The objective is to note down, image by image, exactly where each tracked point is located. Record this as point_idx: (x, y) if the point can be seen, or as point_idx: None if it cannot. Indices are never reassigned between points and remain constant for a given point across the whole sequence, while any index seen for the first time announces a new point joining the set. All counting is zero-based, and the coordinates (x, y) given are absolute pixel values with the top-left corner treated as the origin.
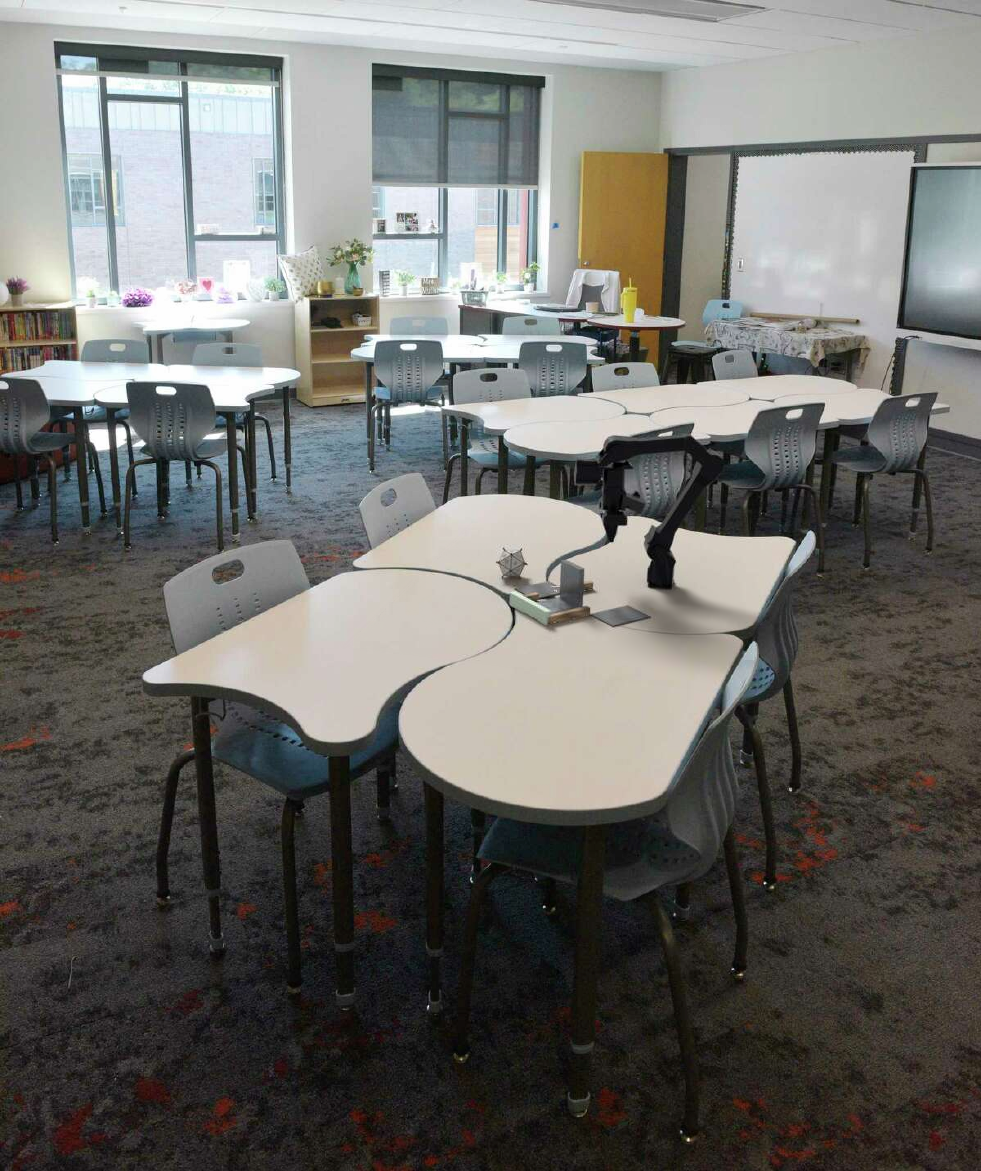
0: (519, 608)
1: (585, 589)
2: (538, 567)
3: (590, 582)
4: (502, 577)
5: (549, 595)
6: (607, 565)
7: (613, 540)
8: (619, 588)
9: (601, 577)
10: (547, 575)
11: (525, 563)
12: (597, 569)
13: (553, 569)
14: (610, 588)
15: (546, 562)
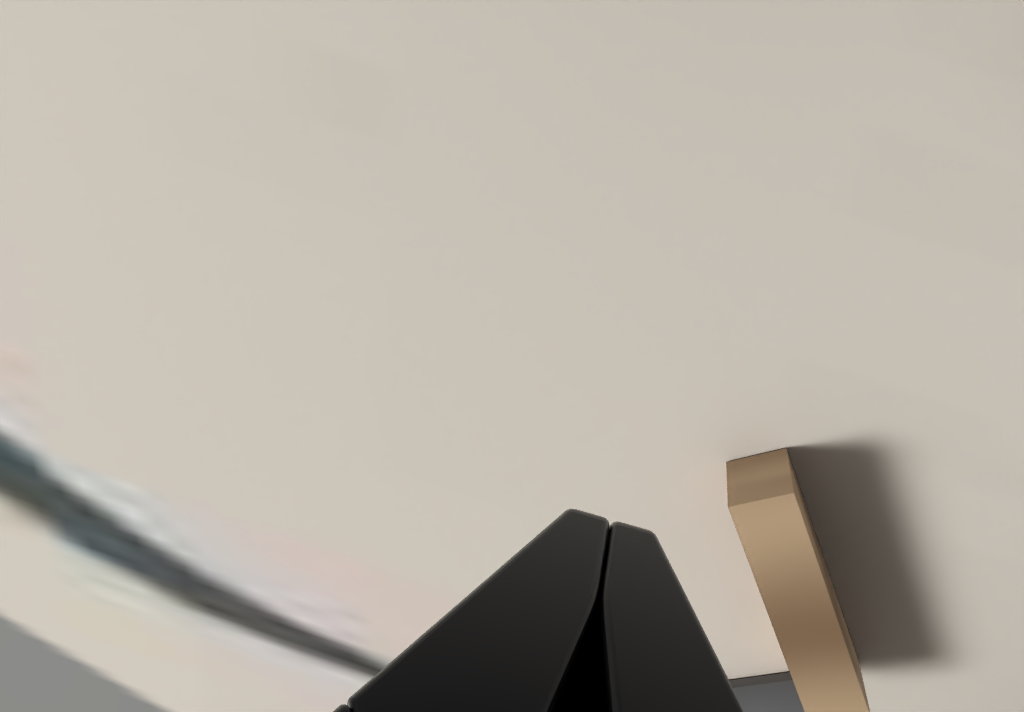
0: None
1: (817, 540)
2: (168, 651)
3: (795, 523)
4: None
5: None
6: (53, 52)
7: (668, 572)
8: (843, 151)
9: (432, 242)
10: (349, 660)
11: None
12: (186, 205)
13: (207, 573)
14: (810, 259)
15: (49, 564)
